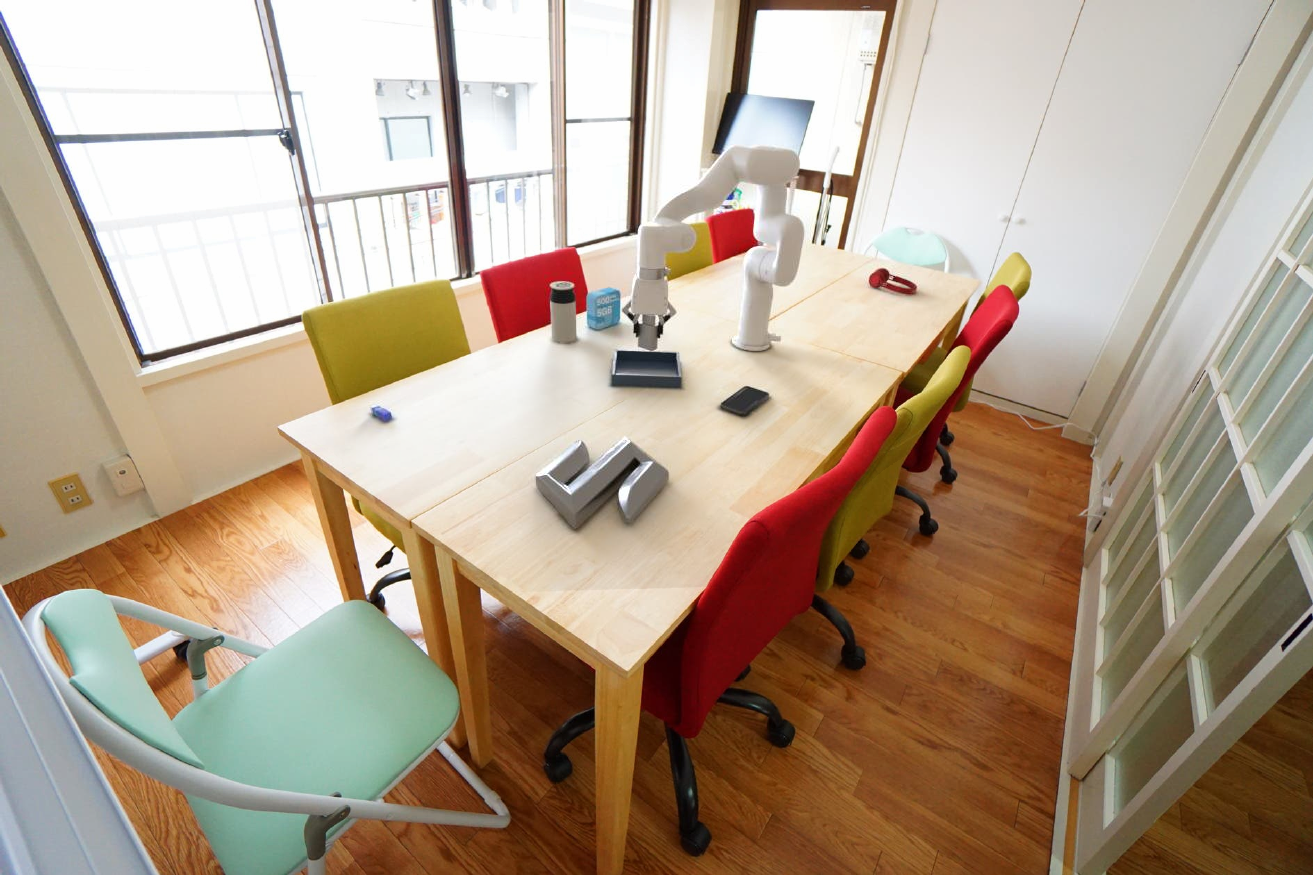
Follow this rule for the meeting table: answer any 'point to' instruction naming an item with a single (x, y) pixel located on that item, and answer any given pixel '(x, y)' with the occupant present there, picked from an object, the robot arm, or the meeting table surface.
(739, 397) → the phone
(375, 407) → the eraser
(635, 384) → the tray
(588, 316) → the data package
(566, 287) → the travel mug
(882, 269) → the headphones
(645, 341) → the power adapter
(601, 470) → the emblem
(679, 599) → the meeting table surface
